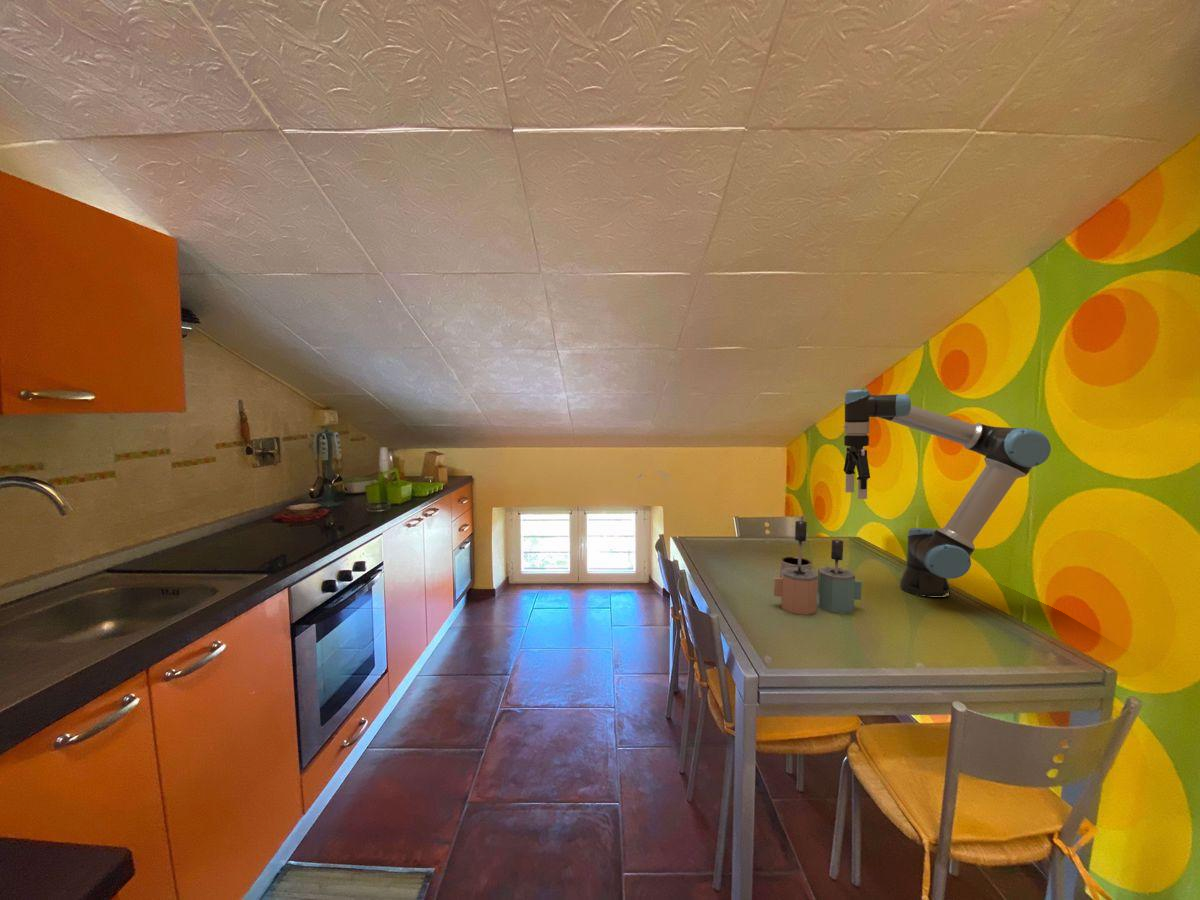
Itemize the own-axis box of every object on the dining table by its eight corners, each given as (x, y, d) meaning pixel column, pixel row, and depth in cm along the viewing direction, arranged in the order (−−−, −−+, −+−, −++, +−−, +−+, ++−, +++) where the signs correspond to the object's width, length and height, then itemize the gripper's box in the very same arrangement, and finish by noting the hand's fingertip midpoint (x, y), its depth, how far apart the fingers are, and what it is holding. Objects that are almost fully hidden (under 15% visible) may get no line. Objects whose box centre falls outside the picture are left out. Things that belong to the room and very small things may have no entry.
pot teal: (855, 603, 162) (857, 569, 161) (864, 615, 152) (865, 579, 151) (815, 599, 165) (816, 565, 165) (820, 611, 155) (822, 575, 155)
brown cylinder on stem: (809, 577, 160) (812, 520, 159) (814, 586, 153) (816, 525, 151) (784, 575, 163) (786, 518, 161) (787, 583, 155) (789, 523, 153)
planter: (805, 581, 184) (806, 556, 183) (815, 591, 173) (816, 565, 172) (776, 580, 185) (777, 555, 184) (784, 590, 174) (785, 564, 173)
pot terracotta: (812, 603, 162) (813, 569, 161) (817, 615, 152) (819, 579, 151) (772, 599, 165) (773, 565, 164) (775, 611, 155) (776, 575, 154)
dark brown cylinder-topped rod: (845, 595, 162) (847, 538, 160) (851, 605, 154) (854, 545, 153) (819, 593, 164) (822, 537, 162) (824, 602, 156) (826, 543, 155)
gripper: (834, 433, 178) (834, 489, 179) (856, 436, 153) (855, 501, 155) (856, 433, 176) (855, 489, 178) (882, 436, 152) (880, 501, 153)
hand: (855, 495), depth 166 cm, fingers open, 13 cm apart
